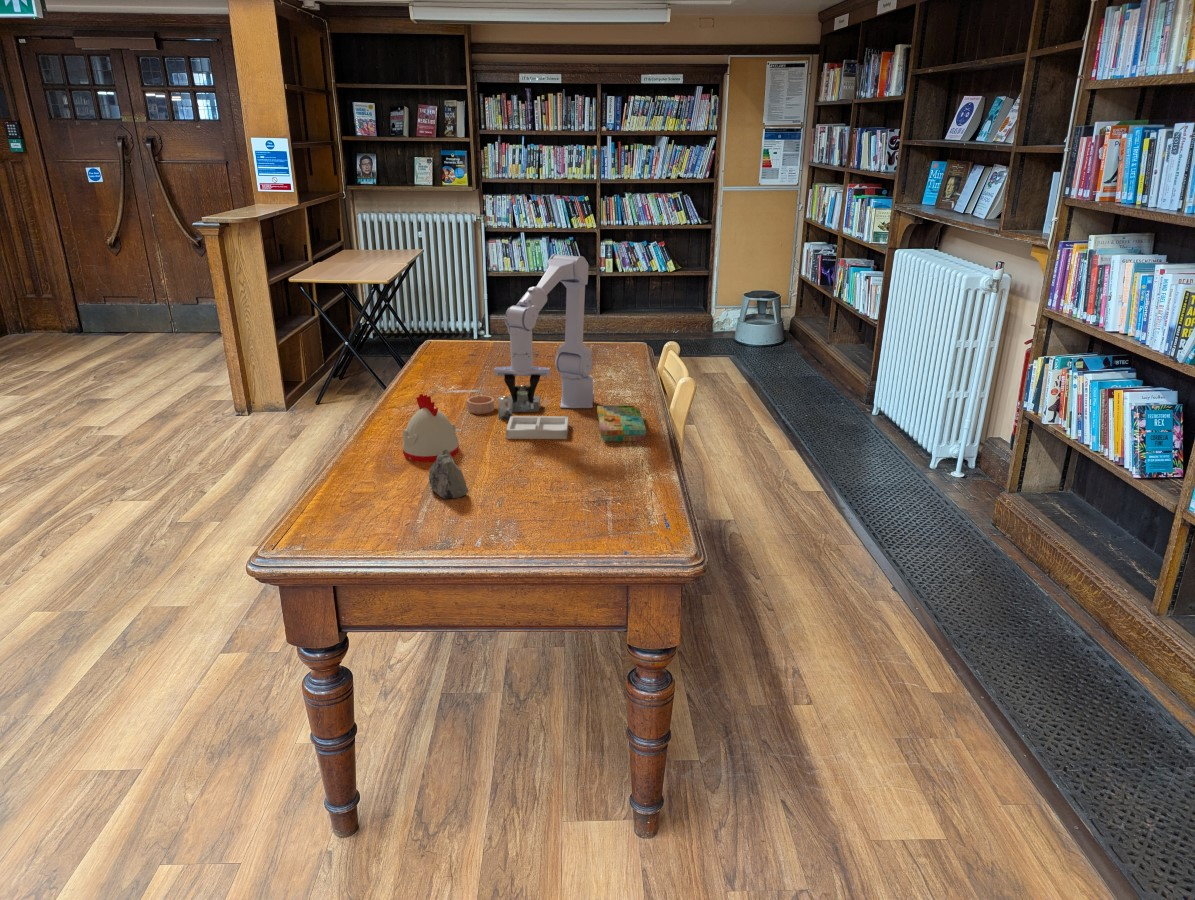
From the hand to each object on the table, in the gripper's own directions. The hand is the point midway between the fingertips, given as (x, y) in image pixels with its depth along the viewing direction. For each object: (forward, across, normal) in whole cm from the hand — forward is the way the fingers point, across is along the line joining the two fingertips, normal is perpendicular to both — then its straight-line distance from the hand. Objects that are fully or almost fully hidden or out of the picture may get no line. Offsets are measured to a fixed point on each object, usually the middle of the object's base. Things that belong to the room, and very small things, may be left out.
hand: (523, 401), depth 217 cm
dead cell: (+8, -6, +11) cm, 15 cm away
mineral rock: (+9, -14, -37) cm, 40 cm away
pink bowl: (+8, -14, +18) cm, 24 cm away
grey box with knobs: (+8, -1, +19) cm, 21 cm away
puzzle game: (+9, +26, +2) cm, 28 cm away
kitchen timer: (+9, -22, -15) cm, 28 cm away
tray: (+8, +4, 0) cm, 9 cm away
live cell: (+2, 0, 0) cm, 2 cm away
